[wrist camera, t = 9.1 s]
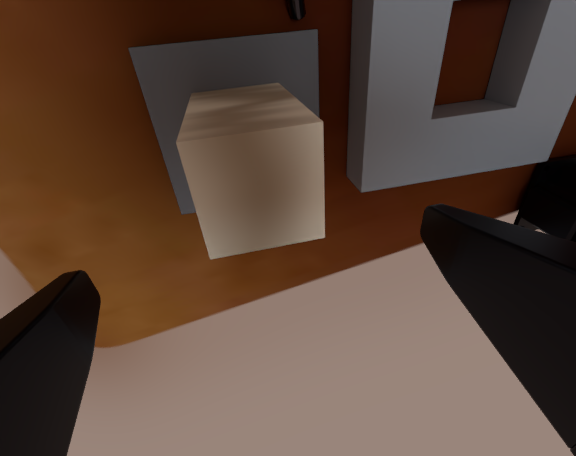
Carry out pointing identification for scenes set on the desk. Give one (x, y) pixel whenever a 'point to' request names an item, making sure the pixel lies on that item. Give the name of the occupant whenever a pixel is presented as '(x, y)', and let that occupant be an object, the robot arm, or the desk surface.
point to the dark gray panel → (219, 81)
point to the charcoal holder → (456, 116)
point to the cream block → (253, 168)
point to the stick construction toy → (296, 9)
